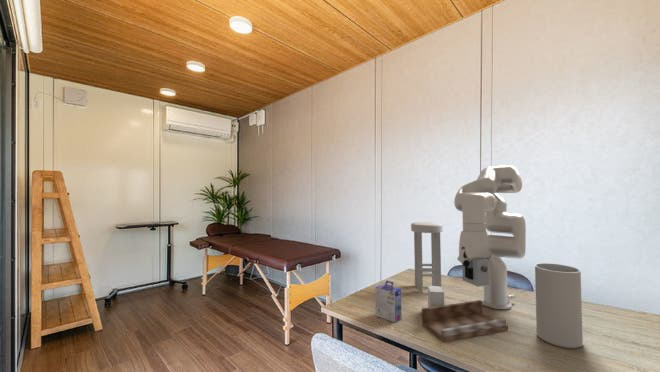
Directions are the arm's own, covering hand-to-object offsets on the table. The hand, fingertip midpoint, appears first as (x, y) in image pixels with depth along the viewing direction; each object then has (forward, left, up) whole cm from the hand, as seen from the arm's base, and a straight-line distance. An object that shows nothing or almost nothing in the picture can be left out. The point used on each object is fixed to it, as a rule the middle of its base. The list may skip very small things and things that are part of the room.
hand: (475, 276), depth 103 cm
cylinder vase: (-25, +11, -21) cm, 34 cm away
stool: (-13, -47, -21) cm, 53 cm away
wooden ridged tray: (0, -6, -21) cm, 22 cm away
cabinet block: (0, 0, -2) cm, 2 cm away
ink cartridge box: (+23, -23, -21) cm, 39 cm away
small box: (+2, -20, -21) cm, 29 cm away
